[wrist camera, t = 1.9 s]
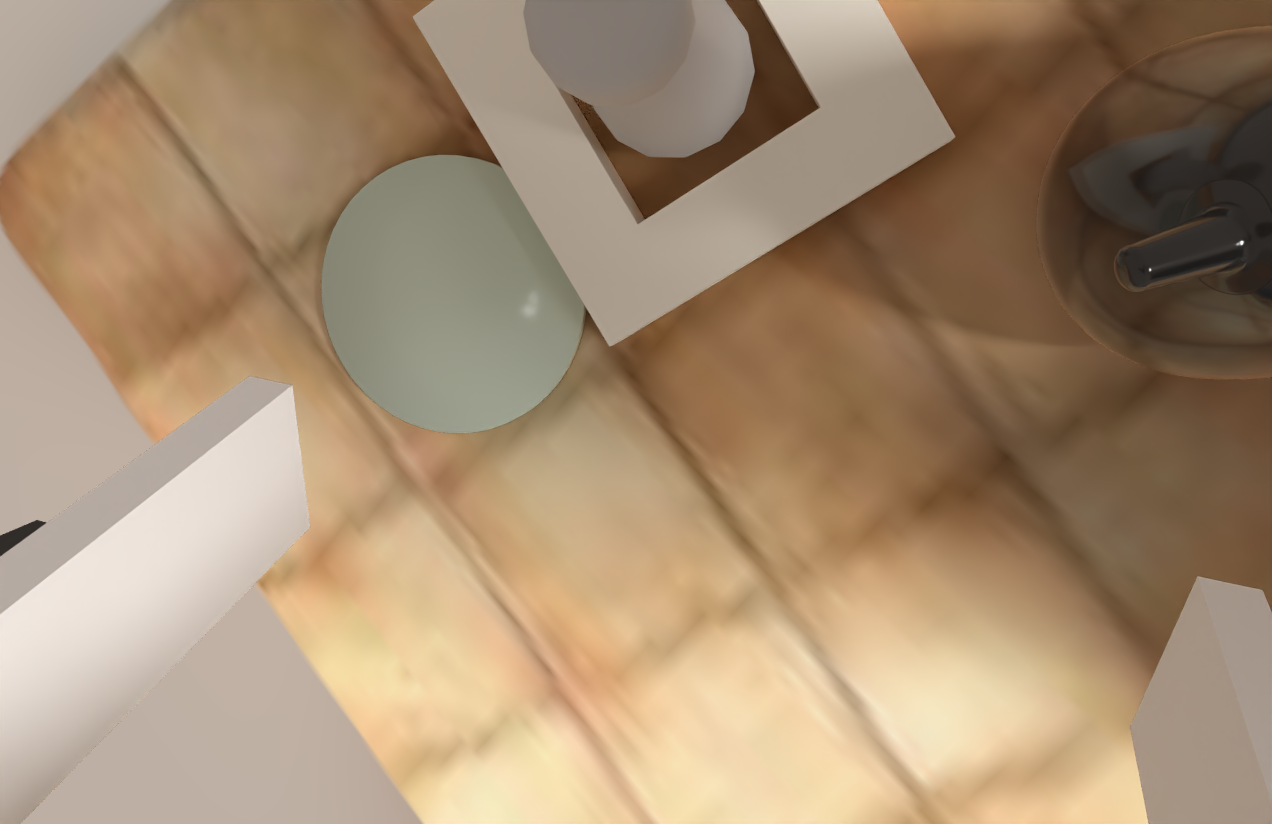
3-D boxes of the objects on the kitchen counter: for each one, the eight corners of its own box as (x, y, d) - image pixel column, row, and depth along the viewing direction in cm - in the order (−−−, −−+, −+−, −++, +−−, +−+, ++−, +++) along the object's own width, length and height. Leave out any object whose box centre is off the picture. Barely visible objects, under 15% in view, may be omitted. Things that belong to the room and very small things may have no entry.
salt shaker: (575, 68, 37) (438, -13, 25) (696, -36, 36) (616, -179, 23) (666, 195, 37) (577, 177, 25) (791, 96, 36) (763, 25, 23)
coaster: (491, 99, 38) (486, 97, 37) (638, 345, 39) (635, 347, 38) (280, 250, 41) (272, 250, 40) (419, 477, 42) (413, 480, 41)
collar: (748, -210, 34) (743, -236, 32) (949, 141, 35) (955, 136, 33) (434, 27, 38) (412, 16, 36) (621, 340, 39) (609, 346, 37)
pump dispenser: (979, 114, 35) (1078, 31, 20) (1306, 13, 32) (1693, -170, 18) (1046, 392, 36) (1186, 505, 21) (1367, 315, 33) (1776, 381, 19)
